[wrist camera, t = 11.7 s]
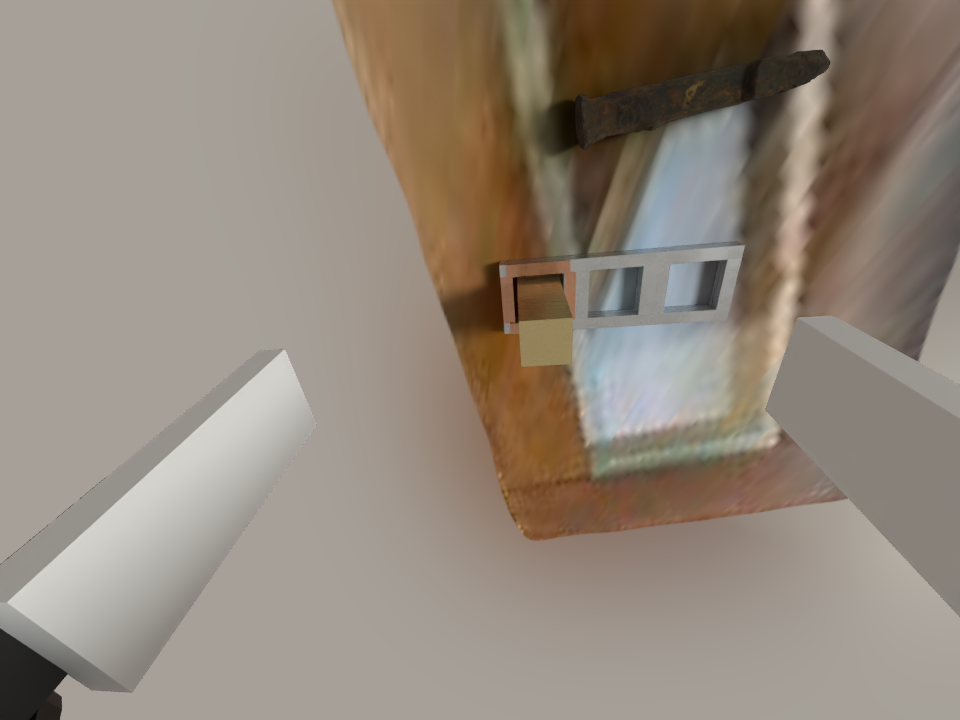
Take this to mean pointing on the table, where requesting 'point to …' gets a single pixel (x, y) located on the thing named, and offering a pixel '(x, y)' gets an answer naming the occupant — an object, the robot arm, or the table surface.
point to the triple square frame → (648, 287)
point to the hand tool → (692, 95)
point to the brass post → (544, 321)
